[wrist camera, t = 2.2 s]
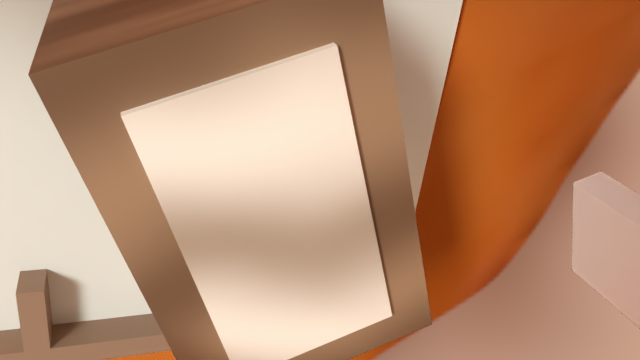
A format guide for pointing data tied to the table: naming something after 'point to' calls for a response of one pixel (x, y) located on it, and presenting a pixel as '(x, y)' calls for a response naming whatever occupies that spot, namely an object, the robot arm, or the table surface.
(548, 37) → the table surface
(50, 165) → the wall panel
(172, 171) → the wooden box
